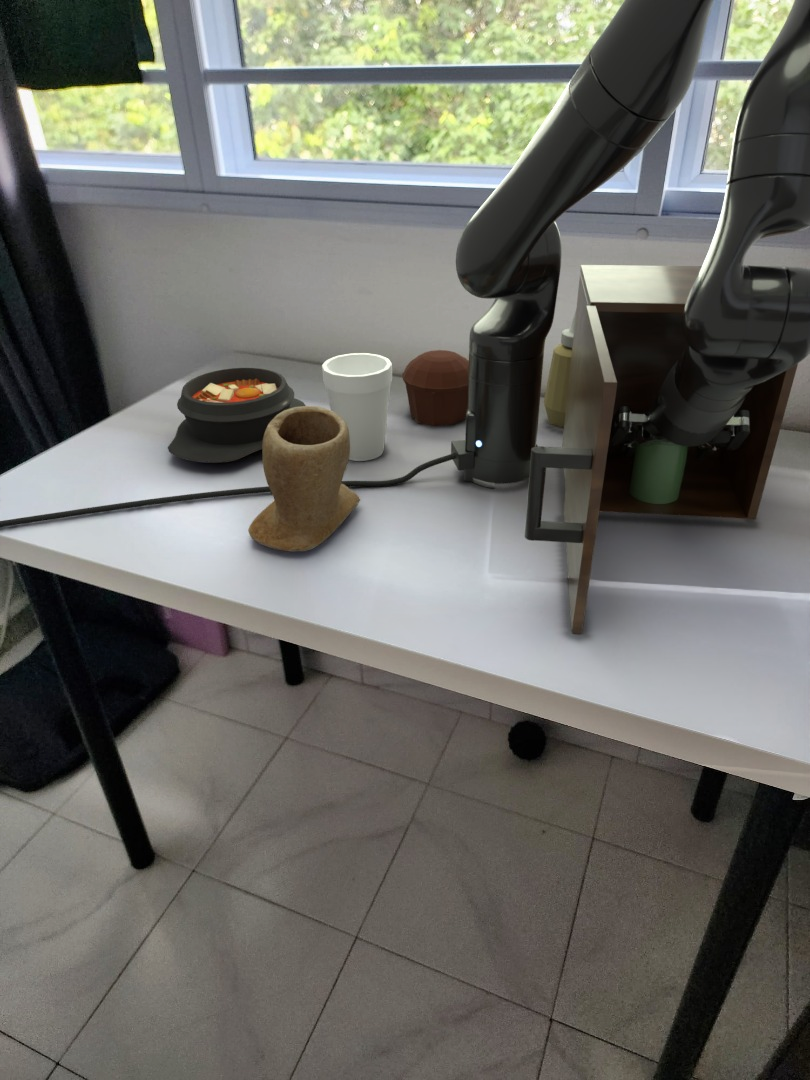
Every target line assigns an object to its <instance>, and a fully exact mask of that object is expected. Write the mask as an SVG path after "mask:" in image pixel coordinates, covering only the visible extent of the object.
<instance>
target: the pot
mask: <svg viewBox="0 0 810 1080" xmlns="http://www.w3.org/2000/svg"><path fill="white" fill-rule="evenodd" d="M636 433H637V436H638V430H636ZM652 436H653V435H651V434H650V437H652ZM688 451H689V446H681V445H677V444H674V443H672V442H669V443H665V442H662V443H658V444H655V445H652V446H649V447H646V446H643V445H639V446H636V447H635V451H634V457H633V464H632V470H631V476H630V482H629V488H628V490H629V493H630V494H631V495H632V496H633V497H634V498H636V499H638V500H640V501H643V502H647V503H652V504H667V503H671V502H674V501H676V500H677V499H678V498H679V495H680V490H681V485H682V480H683V475H684V471H685V466H686V461H687V456H688Z"/></svg>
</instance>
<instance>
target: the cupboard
mask: <svg viewBox="0 0 810 1080" xmlns="http://www.w3.org/2000/svg"><path fill="white" fill-rule="evenodd" d="M701 267H702V265H634V264H633V265H632V264H631V265H630V264H629V265H626V264H625V265H622V264H621V265H620V264H619V265H617V264H580V270H579V271H580V272H579V280H578V289H577V290H578V291H577V298H576V299H577V300H576V308H575V311H576V317H575V327H574V336H573V346H572V356H571V365H570V375H569V385H568V394H567V404H566V413H565V423H564V427H563V433H562V434H563V435H562V444H561V448H571V439H572V429H573V420H574V411H575V402H576V393H577V384H578V375H579V366H580V357H581V348H582V339H583V330H584V321H585V312H586V306H596V308H597V312H598V316H599V319H600V323H601V326H602V330H603V334H604V337H605V341H606V344H607V348H608V352H609V355H610V359H611V362H612V366H613V370H614V373H615V377H616V380H617V388H616V396H615V403H614V410H613V417H614V415H615V414H616V412H617V410H618V409H619V407H622V406H628V407H630V411H631V412H632V414H643V413H644V412H645V411H646V410H648V409H650V408H651V407H652V404H653V402H654V400H655V398H656V396H657V394H658V392H659V390H660V388H661V386H662V384H663V383H664V381H665V379H666V377H667V375H668V373H669V371H670V370H671V368H672V367H673V366H674V365H675V363H676V362H677V361H678V360H679V358H680V356H681V354H682V353H683V351H684V349H685V347H686V345H687V344H688V342H687V340H686V338H685V335H684V332H683V313H684V308H685V305H686V302H687V299H688V297H689V294H690V291H691V289H692V287H693V285H694V282H695V280H696V278H697V276H698V273H699V271H700V269H701ZM798 366H799V363H798V364H796V365H795V366H793V367H791V368H790V369H788V370H786V371H784V372H782V373H780V374H778V375H776V376H774V377H772V378H770V379H768V380H767V381H765V382H762V383H760V384H757V385H755V386H754V387H753V388H752V389H751V391H750V392H749V393H748V394H747V395H746V397H745V399H744V401H743V403H742V405H741V406H740V408H739V409H738V411H740V410H748V411H749V420H750V433H749V435H748V436H747V437H746V439H745V440H744V441H743V443H742V444H741V445H740V447H739V448H738V449H736V450H728V449H727V446H723V447H720V450H718V451H715V452H714V453H713V454H712V455H710V456H707V457H706V458H705V459H704V460H698V459H697V446H689V451H688V456H687V461H686V466H685V471H684V475H683V480H682V485H681V490H680V495H679V498H678V499H677V500H676V501H674V502H671V503H667V504H652V503H647V502H643V501H640V500H638V499H636V498H634V497H633V496H632V495H631V494H630V493H629V490H628V488H629V482H630V476H631V470H632V464H633V457H634V451H635V450H634V451H633V453H632V455H631V457H624V453H620V444H619V445H616V446H613V445H608V452H607V460H606V467H605V474H604V481H603V488H602V495H601V502H600V509H599V512H605V513H606V512H607V513H622V514H623V513H624V514H625V513H626V514H643V515H644V514H646V515H663V516H683V517H700V518H701V517H703V518H722V519H740V520H757V516H758V512H759V508H760V505H761V501H762V497H763V493H764V490H765V486H766V483H767V479H768V476H769V471H770V468H771V464H772V461H773V458H774V454H775V451H776V446H777V442H778V439H779V435H780V431H781V428H782V424H783V421H784V418H785V413H786V409H787V406H788V402H789V398H790V395H791V391H792V388H793V384H794V380H795V377H796V373H797V369H798ZM738 411H737V412H738ZM737 412H736V413H737ZM736 413H735V414H734V415H736ZM613 417H612V419H613ZM722 431H727V429H726V428H723V430H722ZM636 437H637V433H636ZM567 475H568V469H566V468H563V477H564V490H565V491H566V484H567Z"/></svg>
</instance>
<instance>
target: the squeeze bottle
mask: <svg viewBox="0 0 810 1080" xmlns="http://www.w3.org/2000/svg"><path fill="white" fill-rule="evenodd" d="M575 317H576V310H575V311H574V315H573V318H572V321H571V324H570V326H569V328H566V329H563V330H562V331H561V337H560V344H558V345H556V346H555V347H554V349H553V351H552V357H551V362H550V367H549V371H548V377H547V382H546V387H545V392H544V393H545V394H544V397H543V405H544V408H545V412H546V416H547V420H548V424H549V425H554V426H557V427H559V428H564V423H565V413H566V404H567V394H568V385H569V375H570V365H571V356H572V346H573V336H574V327H575Z"/></svg>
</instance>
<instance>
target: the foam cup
mask: <svg viewBox="0 0 810 1080" xmlns="http://www.w3.org/2000/svg"><path fill="white" fill-rule="evenodd" d="M321 369H322V382H323V385H324V387H325V389H326V390H325V391H326V394H327V398H328V403H329V409H330V410H331V411H333V412H335V413H336V414H337V415H339V416H340V417H342V419H343V420H344V421H345V422H346V424H347V426H348V429H349V436H350V455H349V460H350V461H353V462H354V461H355V462H366V461H371V460H375V459H377V458H379V457H381V456H382V454H383V453H384V452H385V451H384V447H385V444H386V443H385V442H386V433H387V422H388V414H389V403H390V395H391V394H390V393H391V384H392V382H393V363H392V362H391V360H390V358H387V357H385V356H383V355H381V354H377V353H376V354H375V353H368V352H355V353H354V352H351V353H346V354H340V355H336V356H333V357H330V358H328V359H326V360H325V361H324V362H323V364H322V365H321ZM349 460H348V461H349Z"/></svg>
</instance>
